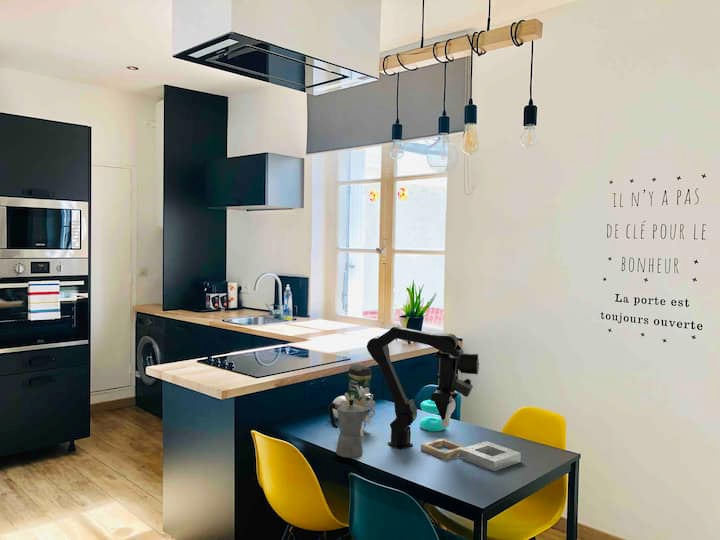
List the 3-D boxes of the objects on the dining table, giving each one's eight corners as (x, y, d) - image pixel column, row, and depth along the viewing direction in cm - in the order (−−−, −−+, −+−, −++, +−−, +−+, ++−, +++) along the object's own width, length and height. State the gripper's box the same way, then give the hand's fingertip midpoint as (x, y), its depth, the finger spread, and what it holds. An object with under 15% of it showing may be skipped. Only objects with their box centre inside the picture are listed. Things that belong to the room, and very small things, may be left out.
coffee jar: (343, 407, 249) (345, 364, 249) (357, 404, 255) (359, 362, 254) (359, 413, 242) (360, 368, 242) (373, 410, 248) (374, 366, 247)
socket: (494, 471, 185) (494, 461, 184) (459, 457, 195) (459, 448, 195) (520, 461, 194) (520, 452, 193) (486, 449, 204) (486, 441, 204)
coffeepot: (373, 452, 197) (375, 399, 196) (360, 461, 188) (362, 405, 188) (333, 443, 204) (335, 392, 203) (319, 451, 196) (321, 398, 195)
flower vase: (331, 436, 232) (354, 440, 210) (321, 390, 235) (342, 389, 212) (361, 427, 238) (386, 430, 215) (350, 382, 240) (374, 380, 217)
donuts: (418, 404, 222) (422, 398, 232) (417, 430, 223) (421, 423, 232) (445, 407, 220) (448, 400, 229) (444, 433, 220) (446, 425, 230)
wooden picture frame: (445, 459, 193) (445, 453, 193) (420, 450, 201) (420, 444, 201) (466, 453, 200) (467, 447, 200) (442, 443, 208) (442, 438, 208)
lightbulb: (454, 431, 196) (455, 398, 196) (434, 429, 198) (436, 396, 197) (454, 425, 203) (456, 393, 202) (436, 423, 204) (437, 392, 203)
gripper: (465, 379, 188) (463, 428, 188) (476, 369, 205) (474, 413, 206) (431, 375, 192) (429, 423, 193) (445, 365, 209) (443, 409, 210)
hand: (445, 417), depth 200 cm, fingers closed on lightbulb, 6 cm apart
